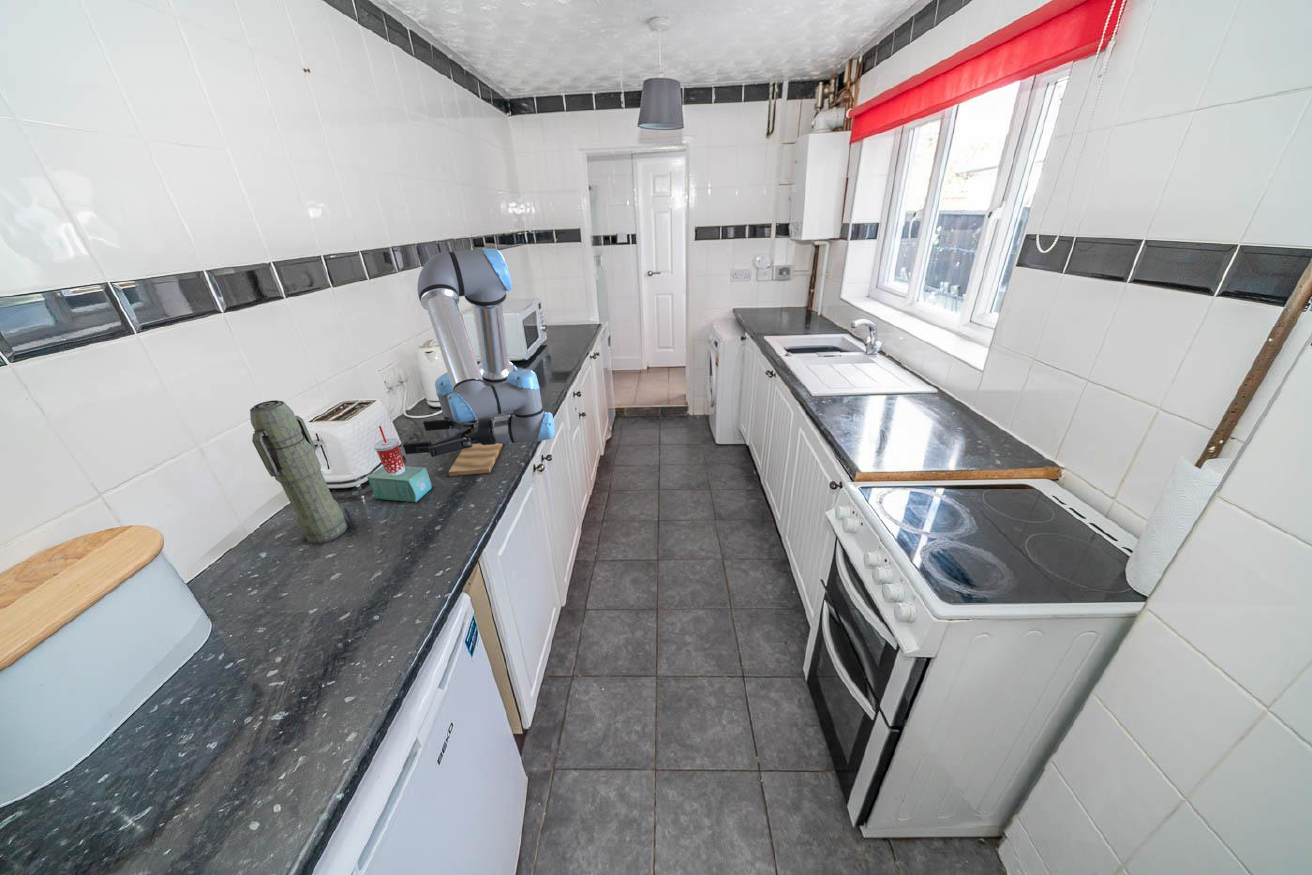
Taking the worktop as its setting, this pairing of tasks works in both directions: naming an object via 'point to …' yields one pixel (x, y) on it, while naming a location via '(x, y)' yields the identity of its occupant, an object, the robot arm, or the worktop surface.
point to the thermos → (296, 469)
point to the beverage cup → (390, 455)
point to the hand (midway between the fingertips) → (415, 436)
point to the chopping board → (475, 459)
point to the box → (400, 484)
